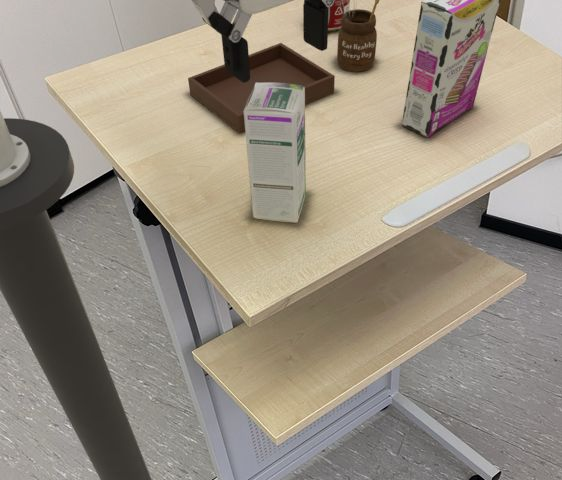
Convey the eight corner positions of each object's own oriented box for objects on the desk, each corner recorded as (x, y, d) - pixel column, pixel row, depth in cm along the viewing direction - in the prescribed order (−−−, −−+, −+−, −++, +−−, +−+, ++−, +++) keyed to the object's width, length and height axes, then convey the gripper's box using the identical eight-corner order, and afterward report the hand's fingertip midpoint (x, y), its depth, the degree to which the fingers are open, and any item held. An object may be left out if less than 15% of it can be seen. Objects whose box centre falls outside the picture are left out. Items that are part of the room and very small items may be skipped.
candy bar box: (429, 140, 87) (452, 13, 73) (400, 126, 89) (418, 0, 76) (476, 107, 91) (506, -17, 78) (447, 95, 93) (472, -28, 80)
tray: (239, 133, 88) (238, 116, 86) (190, 94, 95) (187, 77, 93) (334, 92, 94) (335, 75, 92) (281, 59, 101) (280, 42, 99)
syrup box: (298, 224, 76) (298, 112, 65) (250, 219, 77) (242, 107, 66) (305, 195, 80) (307, 83, 68) (260, 190, 81) (254, 79, 69)
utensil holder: (334, 54, 101) (338, -29, 92) (374, 53, 101) (381, -30, 92) (338, 73, 98) (342, -11, 88) (378, 71, 98) (387, -13, 88)
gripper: (324, -183, 55) (320, 22, 69) (152, -141, 49) (186, 74, 63) (382, -167, 51) (366, 47, 65) (204, -119, 45) (228, 105, 59)
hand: (278, 60), depth 64 cm, fingers open, 9 cm apart
